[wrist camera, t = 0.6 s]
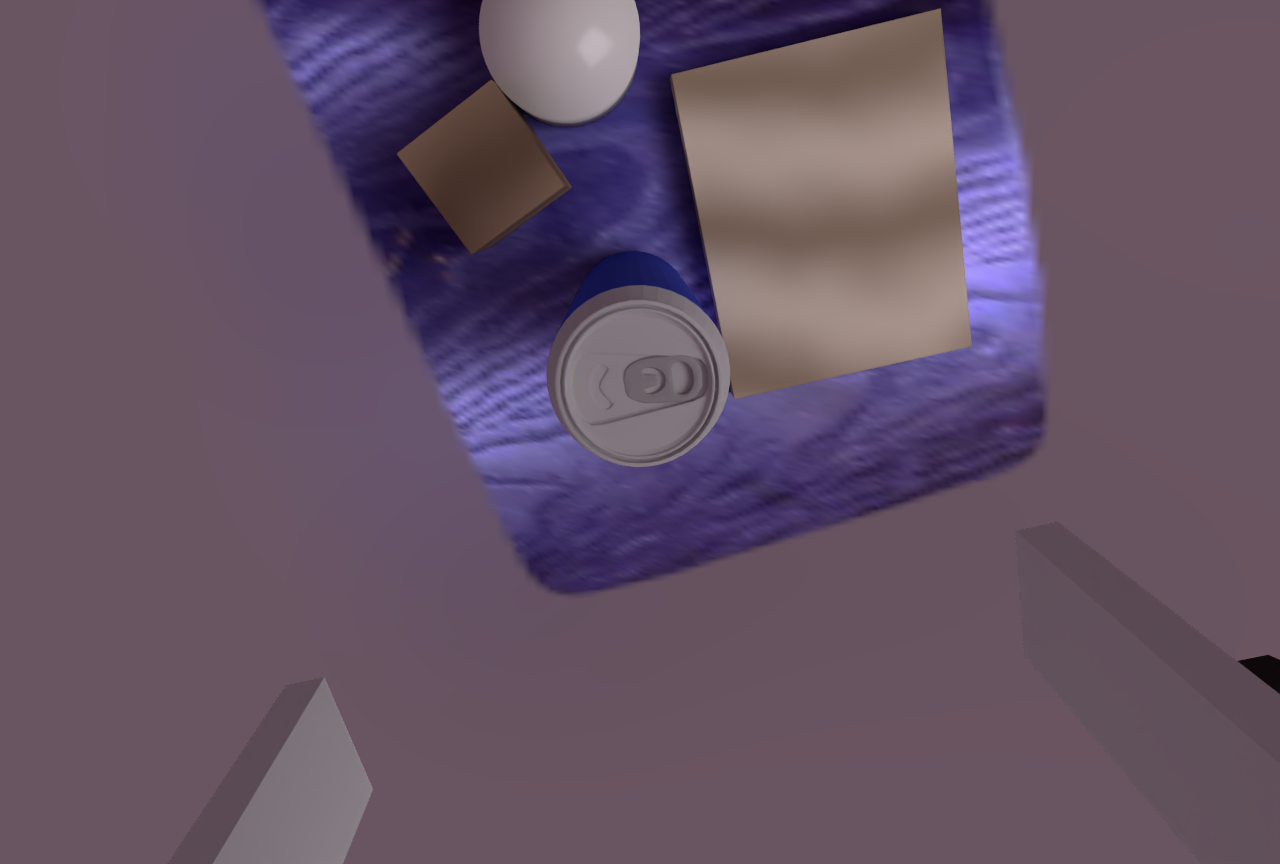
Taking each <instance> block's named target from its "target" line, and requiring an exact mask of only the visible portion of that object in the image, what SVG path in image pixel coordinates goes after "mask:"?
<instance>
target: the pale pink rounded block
mask: <svg viewBox="0 0 1280 864" xmlns="http://www.w3.org/2000/svg"><path fill="white" fill-rule="evenodd" d="M479 37H480V44H481V49H482V53H483V56H484V60H485V63H486V65H487V67H488V69H489V72H490V74H491V75H492V77H493V79H494V80H495V82H496V83H497V85H498V86H499V87H500V89H501V90H502V91H503V92H504V93H505V94H506V95H507V96H508V97H509V98H510V99H511V100H512V101H513V102H514V103H515V104H516V105H518V106H519V107H520V108H521V109H522V110H523V111H525V112H526V113H527V114H529V115H530V116H531V117H533V118H535V119H537V120H538V121H541V122H543V123H546V124H548V125H552V126H556V127H564V128H573V127H580V126H585V125H588V124H591V123H594V122H596V121H598V120H600V119H602V118H603V117H605V116H606V115H608V114H609V113H610V112H611V111H613V110H614V109H615V108H616V107H617V106H618V105H619V103H620V102H621V101H622V100H623V98H624V97H625V95H626V94H627V92H628V90H629V88H630V86H631V84H632V81H633V79H634V76H635V72H636V68H637V62H638V52H639V42H640V24H639V17H638V12H637V8H636V4H635V1H634V0H483V1H482V4H481V10H480V16H479Z"/></svg>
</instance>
